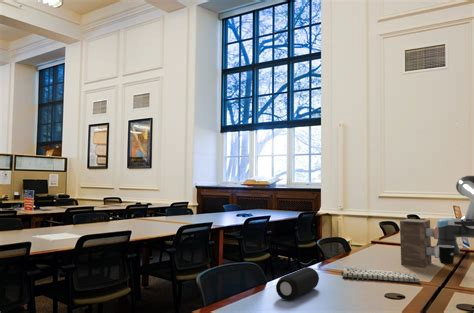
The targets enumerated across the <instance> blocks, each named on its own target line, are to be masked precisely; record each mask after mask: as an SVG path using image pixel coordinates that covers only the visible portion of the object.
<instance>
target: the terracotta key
mask: <svg viewBox="0 0 474 313" xmlns="http://www.w3.org/2000/svg"><path fill="white" fill-rule="evenodd" d="M426 236H429V237H431V238H434V240H438V236H439V231H438V227H437V226H434V227H430V228H426Z"/></svg>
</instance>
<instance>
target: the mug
mask: <svg viewBox="0 0 474 313" xmlns="http://www.w3.org/2000/svg"><path fill="white" fill-rule="evenodd" d="M438 246H439V258H438V259H439V262H440V263H441V264H443V265H444V264H445V265H453V263H454V260H455V254H454V252H455V248H454V246H449V245H438Z"/></svg>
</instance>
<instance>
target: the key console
mask: <svg viewBox="0 0 474 313" xmlns="http://www.w3.org/2000/svg"><path fill="white" fill-rule="evenodd" d="M426 228H431V219H416V218H405V219H402V220H399V232H400V233H399V234H400V237H399V238H400V242H399V243H400V263H401V266H406V267H414V268H420V269H421V268H422V269H425V268H427V267H429V266H430V265H432V256H431V255H427V250H426V247H432V244H431V243H432V240H431V239H432V237H429V236H426Z"/></svg>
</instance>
